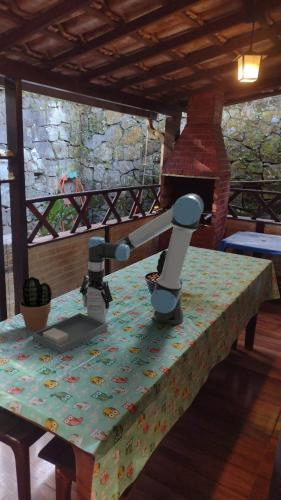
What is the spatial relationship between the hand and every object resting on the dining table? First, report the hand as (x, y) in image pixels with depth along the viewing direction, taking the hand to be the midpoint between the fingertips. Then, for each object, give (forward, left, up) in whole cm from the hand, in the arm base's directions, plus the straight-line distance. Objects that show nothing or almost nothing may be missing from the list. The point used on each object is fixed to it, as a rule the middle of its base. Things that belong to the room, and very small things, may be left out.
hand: (95, 310), depth 180 cm
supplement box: (0, -1, -5) cm, 5 cm away
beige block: (-4, +29, -4) cm, 29 cm away
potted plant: (+14, +25, -5) cm, 29 cm away
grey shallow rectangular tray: (-4, +20, -5) cm, 21 cm away
